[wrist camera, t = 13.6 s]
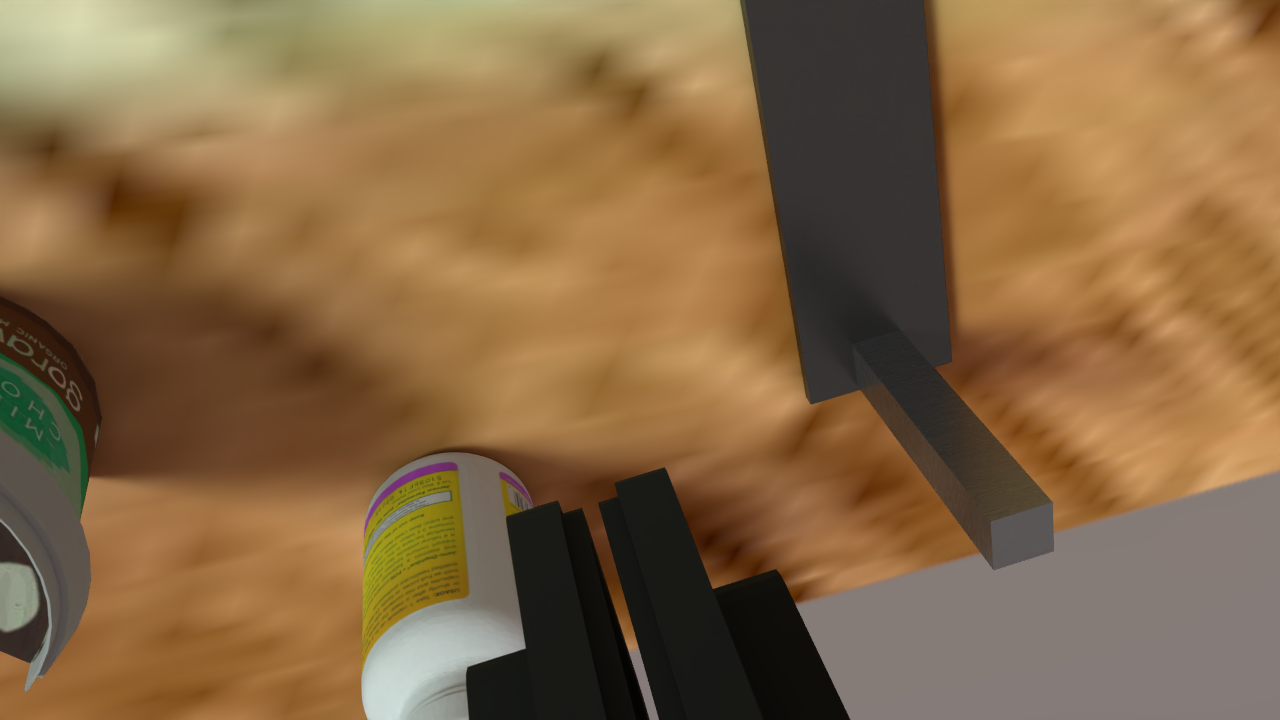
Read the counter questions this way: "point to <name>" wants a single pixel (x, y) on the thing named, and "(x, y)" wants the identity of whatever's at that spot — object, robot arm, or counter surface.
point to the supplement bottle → (437, 584)
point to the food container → (42, 487)
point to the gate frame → (877, 246)
